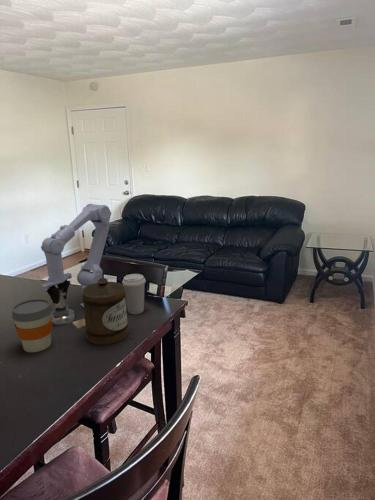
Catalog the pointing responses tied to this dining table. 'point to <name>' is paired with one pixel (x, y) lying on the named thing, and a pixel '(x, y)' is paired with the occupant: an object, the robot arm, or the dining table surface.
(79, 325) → the coaster
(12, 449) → the dining table surface
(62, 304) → the grey block
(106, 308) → the wooden container
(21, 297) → the dining table surface
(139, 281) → the coffee cup
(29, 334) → the reusable coffee cup
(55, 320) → the grey frying pan
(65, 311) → the open square box
